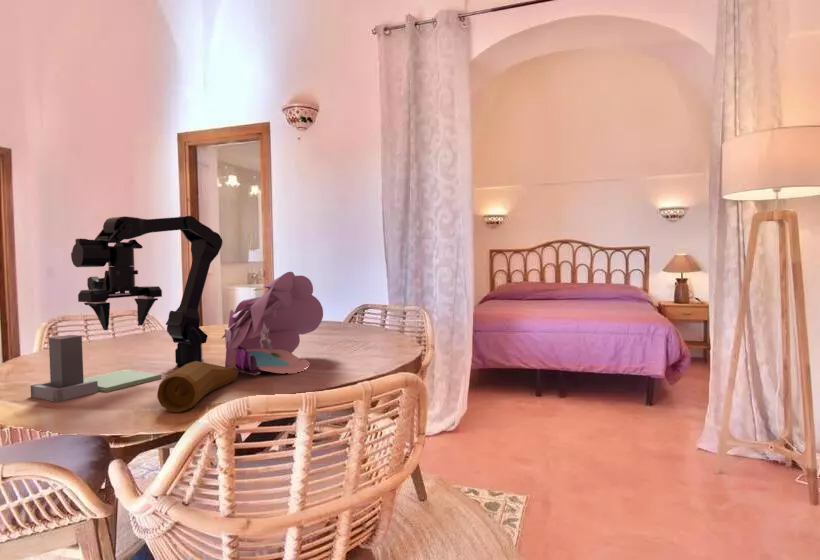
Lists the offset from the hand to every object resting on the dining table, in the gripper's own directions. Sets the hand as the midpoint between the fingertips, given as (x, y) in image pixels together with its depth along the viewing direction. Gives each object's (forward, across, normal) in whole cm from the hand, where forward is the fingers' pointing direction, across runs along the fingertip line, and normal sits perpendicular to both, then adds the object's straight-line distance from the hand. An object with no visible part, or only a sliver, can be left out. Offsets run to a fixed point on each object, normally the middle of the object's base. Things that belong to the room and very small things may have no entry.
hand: (123, 327), depth 125 cm
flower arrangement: (+13, -25, +27) cm, 39 cm away
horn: (+13, +3, +31) cm, 34 cm away
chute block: (+13, +15, +2) cm, 20 cm away
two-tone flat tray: (+13, +8, +2) cm, 15 cm away
